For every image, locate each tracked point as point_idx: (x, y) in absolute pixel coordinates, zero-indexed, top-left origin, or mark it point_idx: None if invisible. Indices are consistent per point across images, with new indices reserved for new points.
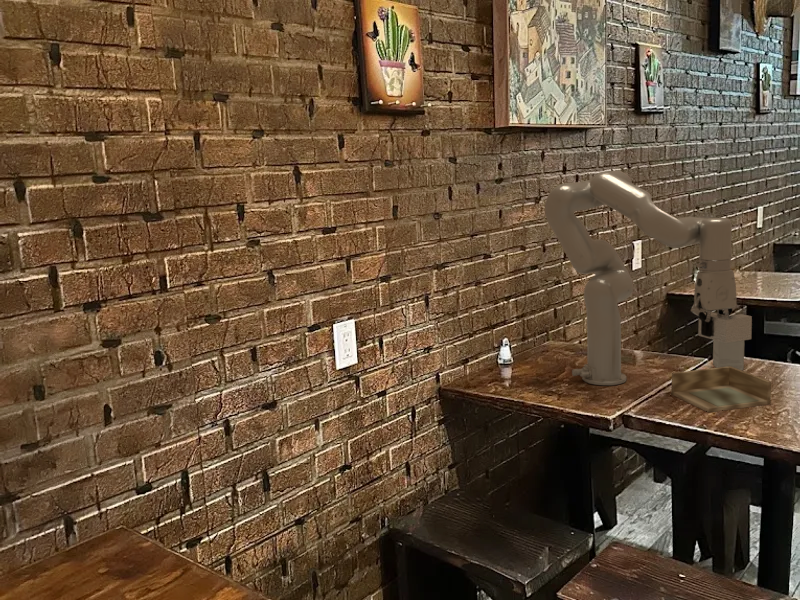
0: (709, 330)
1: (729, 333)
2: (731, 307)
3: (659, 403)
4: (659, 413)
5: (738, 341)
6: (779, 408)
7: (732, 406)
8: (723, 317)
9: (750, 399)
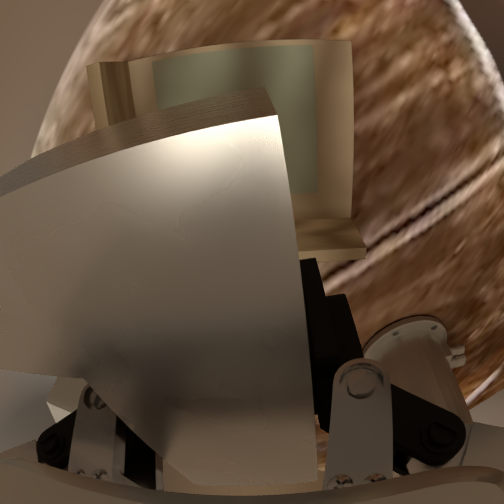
0: (324, 292)
1: (215, 101)
2: (24, 466)
3: (422, 165)
4: (463, 97)
5: (69, 382)
6: (120, 27)
7: (258, 41)
8: (196, 344)
9: (170, 76)
